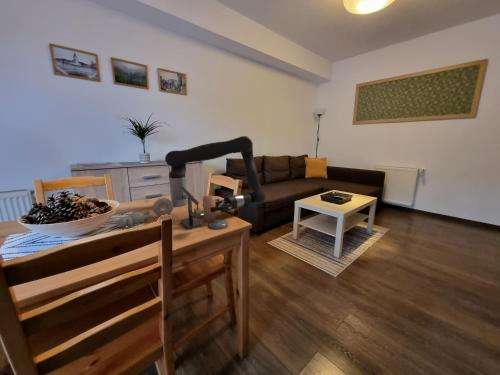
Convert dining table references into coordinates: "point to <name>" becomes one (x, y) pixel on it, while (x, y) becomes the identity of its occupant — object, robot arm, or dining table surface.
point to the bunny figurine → (133, 219)
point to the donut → (160, 202)
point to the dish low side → (218, 224)
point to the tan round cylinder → (209, 208)
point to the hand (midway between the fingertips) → (206, 207)
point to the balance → (197, 212)
